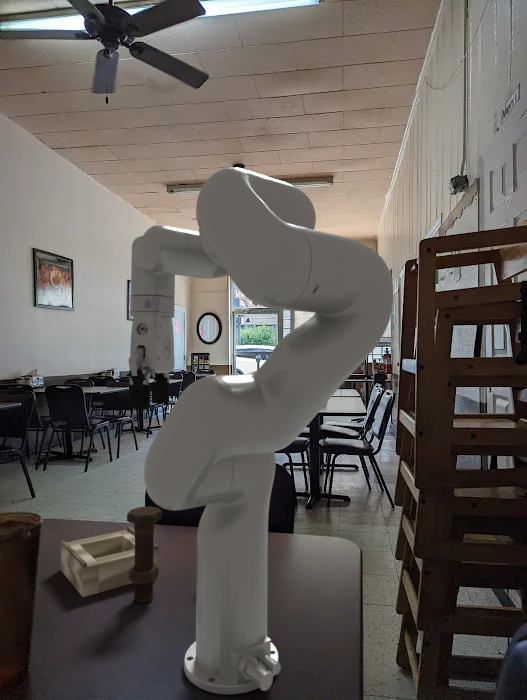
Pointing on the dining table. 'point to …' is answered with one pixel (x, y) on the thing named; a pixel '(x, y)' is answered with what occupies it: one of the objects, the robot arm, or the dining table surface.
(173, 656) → the dining table surface
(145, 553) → the bolt
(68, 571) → the socket
